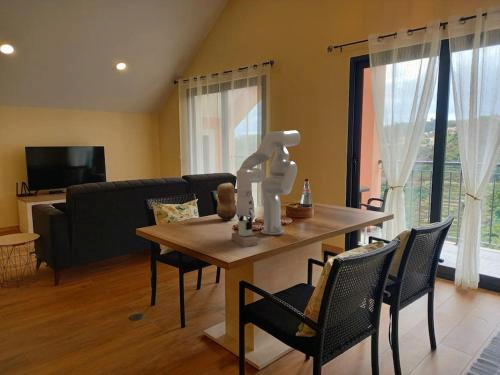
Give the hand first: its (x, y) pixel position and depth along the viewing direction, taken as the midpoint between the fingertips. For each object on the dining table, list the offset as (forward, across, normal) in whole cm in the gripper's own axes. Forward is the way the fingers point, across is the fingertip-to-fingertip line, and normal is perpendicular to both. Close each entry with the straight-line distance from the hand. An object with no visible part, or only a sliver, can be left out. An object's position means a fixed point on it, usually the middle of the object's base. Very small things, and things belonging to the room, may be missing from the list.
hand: (245, 228), depth 193 cm
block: (+4, 0, 0) cm, 4 cm away
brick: (+8, 0, 0) cm, 8 cm away
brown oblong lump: (+8, +54, -24) cm, 60 cm away
